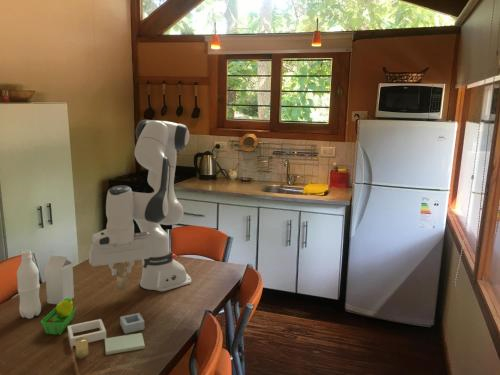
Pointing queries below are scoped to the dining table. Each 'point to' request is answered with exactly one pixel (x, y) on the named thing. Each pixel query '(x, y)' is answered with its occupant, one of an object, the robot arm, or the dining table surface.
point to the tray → (84, 327)
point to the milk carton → (59, 279)
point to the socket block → (132, 323)
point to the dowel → (121, 276)
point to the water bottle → (28, 286)
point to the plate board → (124, 343)
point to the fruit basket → (59, 317)
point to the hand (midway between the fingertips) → (121, 273)
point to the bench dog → (81, 347)
